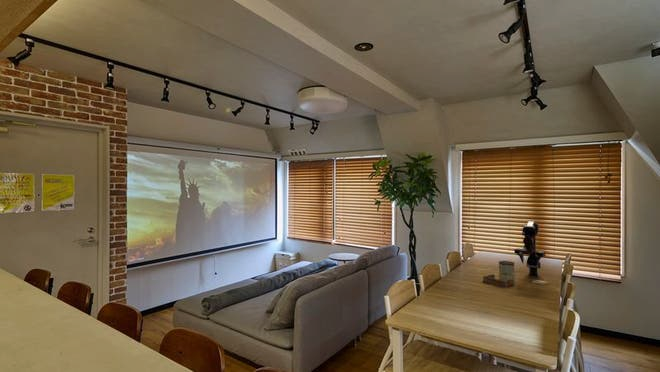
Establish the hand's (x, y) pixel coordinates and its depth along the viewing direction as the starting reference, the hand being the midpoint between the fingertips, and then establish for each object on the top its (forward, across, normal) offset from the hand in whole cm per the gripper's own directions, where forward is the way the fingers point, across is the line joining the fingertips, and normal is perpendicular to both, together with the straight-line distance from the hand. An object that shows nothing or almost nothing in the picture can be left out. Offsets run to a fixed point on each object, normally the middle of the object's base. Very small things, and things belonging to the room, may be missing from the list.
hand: (529, 264), depth 234 cm
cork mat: (+14, +5, +5) cm, 15 cm away
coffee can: (+14, -13, -8) cm, 20 cm away
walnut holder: (+13, -15, -18) cm, 27 cm away
